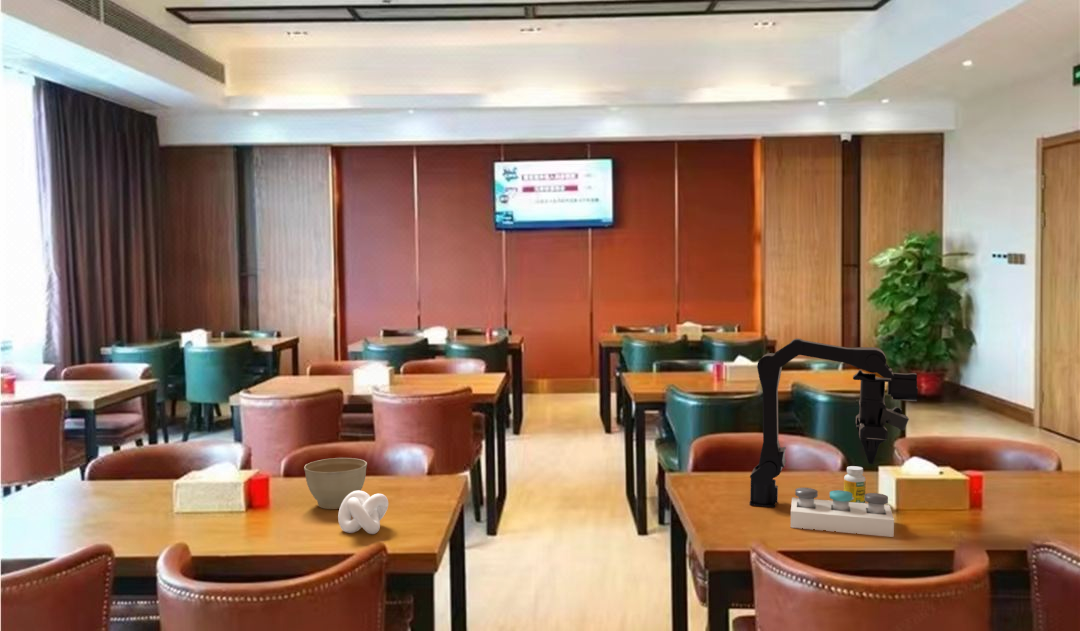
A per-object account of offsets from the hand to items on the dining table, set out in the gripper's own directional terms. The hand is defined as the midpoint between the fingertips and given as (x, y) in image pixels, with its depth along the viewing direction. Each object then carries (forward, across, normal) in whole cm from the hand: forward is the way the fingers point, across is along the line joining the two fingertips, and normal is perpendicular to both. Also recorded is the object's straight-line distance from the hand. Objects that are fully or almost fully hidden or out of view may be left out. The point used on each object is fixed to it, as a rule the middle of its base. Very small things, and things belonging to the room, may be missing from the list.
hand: (869, 459), depth 210 cm
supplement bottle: (+14, +8, +3) cm, 17 cm away
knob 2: (+10, -11, -1) cm, 15 cm away
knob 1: (+10, -10, +15) cm, 21 cm away
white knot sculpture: (+16, -48, +116) cm, 127 cm away
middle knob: (+10, -10, +7) cm, 16 cm away
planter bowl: (+16, -31, +134) cm, 139 cm away
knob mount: (+14, -10, +7) cm, 19 cm away
